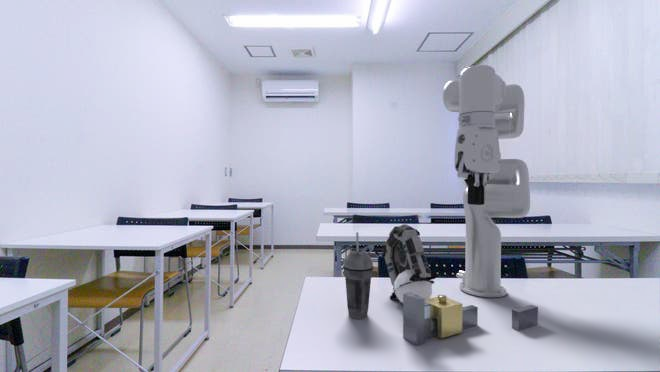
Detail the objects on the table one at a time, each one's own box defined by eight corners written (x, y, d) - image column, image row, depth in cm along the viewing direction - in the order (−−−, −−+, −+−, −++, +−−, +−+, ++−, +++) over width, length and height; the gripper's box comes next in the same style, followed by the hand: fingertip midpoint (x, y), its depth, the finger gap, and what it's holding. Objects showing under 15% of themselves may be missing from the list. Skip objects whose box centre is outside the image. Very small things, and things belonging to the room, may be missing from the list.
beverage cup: (376, 311, 83) (376, 230, 83) (369, 323, 76) (370, 234, 76) (347, 308, 85) (348, 229, 85) (338, 319, 78) (339, 233, 78)
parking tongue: (511, 327, 74) (512, 309, 74) (531, 322, 77) (531, 304, 77) (518, 330, 73) (518, 312, 73) (537, 324, 76) (537, 306, 76)
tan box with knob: (421, 327, 72) (422, 294, 72) (442, 322, 75) (442, 290, 75) (441, 338, 68) (441, 302, 68) (462, 332, 70) (462, 297, 70)
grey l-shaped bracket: (403, 337, 69) (403, 293, 69) (467, 320, 78) (467, 281, 78) (416, 345, 65) (416, 299, 65) (482, 327, 74) (482, 286, 74)
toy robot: (453, 293, 79) (424, 213, 91) (416, 297, 76) (391, 213, 88) (420, 315, 92) (398, 243, 105) (388, 319, 90) (369, 244, 102)
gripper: (467, 117, 69) (466, 206, 69) (513, 123, 76) (512, 204, 76) (439, 122, 76) (439, 204, 76) (484, 128, 83) (483, 203, 83)
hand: (475, 204), depth 76 cm, fingers closed
